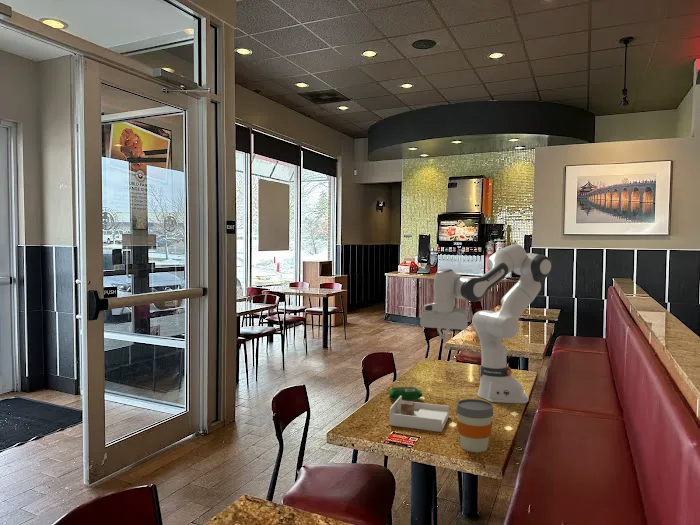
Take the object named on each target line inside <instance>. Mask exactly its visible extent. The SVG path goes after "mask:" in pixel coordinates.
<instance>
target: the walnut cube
mask: <svg viewBox="0 0 700 525" xmlns="http://www.w3.org/2000/svg"><path fill="white" fill-rule="evenodd" d="M414 402H415V401H405V400H403V401H402V403H401V415H409V416H412V415H413V414H414Z"/></svg>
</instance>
